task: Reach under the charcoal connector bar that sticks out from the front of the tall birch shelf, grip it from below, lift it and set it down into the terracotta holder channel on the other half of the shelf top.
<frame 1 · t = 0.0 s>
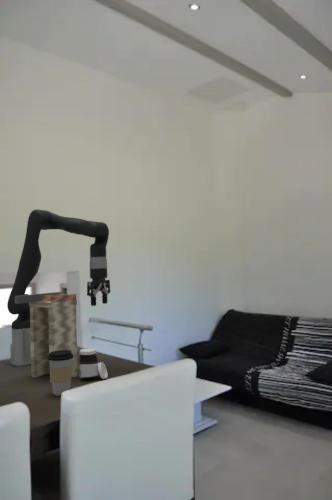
hand: (99, 304, 186), 29 cm above the table, tool pointing down, fingers open, 8 cm apart
coffee cup: (61, 393, 157), on the table
connector bar: (39, 301, 181), point 32 cm above the table, touching tall shelf
spread jar: (93, 378, 176), on the table
tall shelf: (54, 376, 181), on the table
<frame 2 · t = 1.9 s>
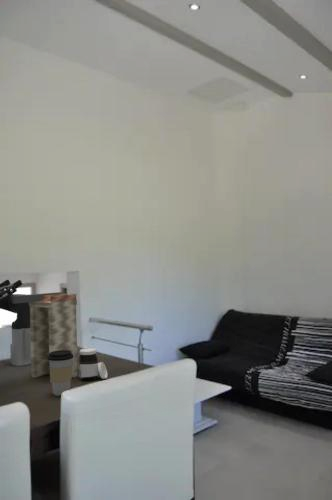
hand: (14, 281, 172), 41 cm above the table, tool pointing upward, fingers open, 8 cm apart
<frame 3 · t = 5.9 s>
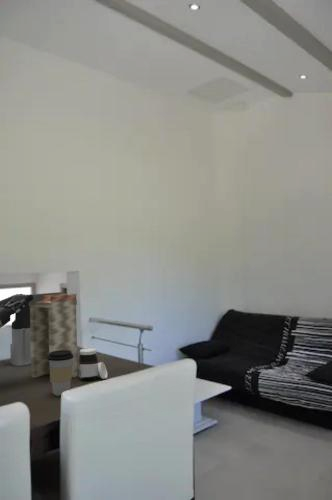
hand: (27, 296, 177), 35 cm above the table, tool pointing upward, fingers open, 6 cm apart
connector bar: (38, 301, 181), point 32 cm above the table, touching gripper, tall shelf
everything else where it was.
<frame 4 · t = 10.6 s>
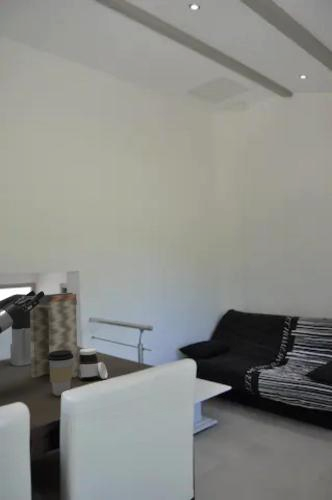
hand: (38, 292, 172), 36 cm above the table, tool pointing upward, fingers open, 6 cm apart
connector bar: (49, 302, 175), point 32 cm above the table, touching tall shelf
everything else where it was.
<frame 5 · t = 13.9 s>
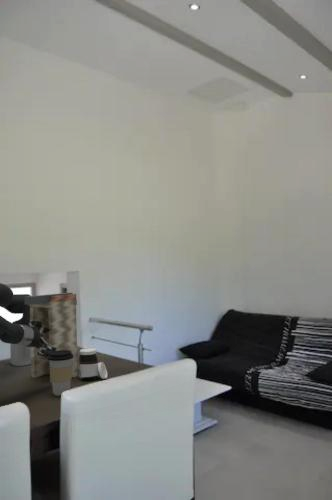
hand: (51, 340, 171), 17 cm above the table, tool tilted 75°, fingers open, 8 cm apart
nothing on the table moved.
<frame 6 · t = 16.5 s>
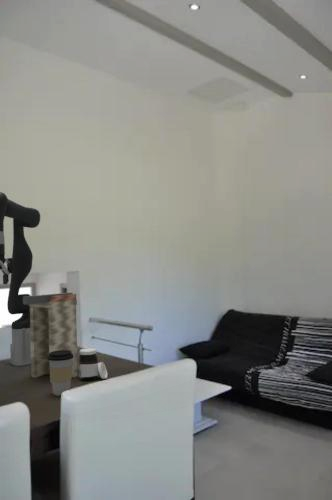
nothing on the table moved.
at the end: connector bar 0.6 cm from the target spot, point 32.0 cm above the table; connector bar tilted 0°; the gripper is holding nothing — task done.
